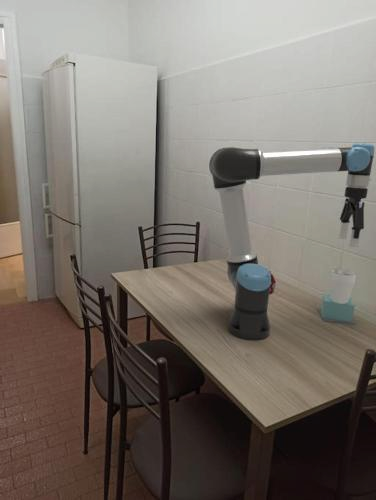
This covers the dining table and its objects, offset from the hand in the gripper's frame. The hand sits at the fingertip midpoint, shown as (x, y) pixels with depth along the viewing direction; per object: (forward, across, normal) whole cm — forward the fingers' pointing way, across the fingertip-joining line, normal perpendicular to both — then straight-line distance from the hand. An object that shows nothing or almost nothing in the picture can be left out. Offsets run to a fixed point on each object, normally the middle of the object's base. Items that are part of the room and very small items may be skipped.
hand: (347, 242), depth 139 cm
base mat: (+31, 0, 0) cm, 31 cm away
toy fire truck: (+31, +22, +28) cm, 47 cm away
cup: (+24, -2, 0) cm, 24 cm away
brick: (+30, 0, 0) cm, 30 cm away
